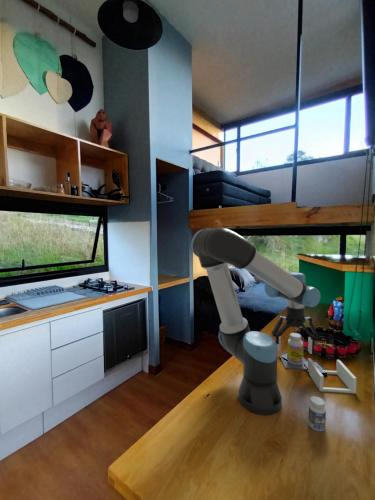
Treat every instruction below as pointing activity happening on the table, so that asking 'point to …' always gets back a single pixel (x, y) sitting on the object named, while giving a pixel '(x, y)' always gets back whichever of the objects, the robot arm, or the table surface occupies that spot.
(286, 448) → the table surface
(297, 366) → the trivet
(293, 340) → the supplement bottle
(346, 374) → the holder
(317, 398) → the pill bottle
